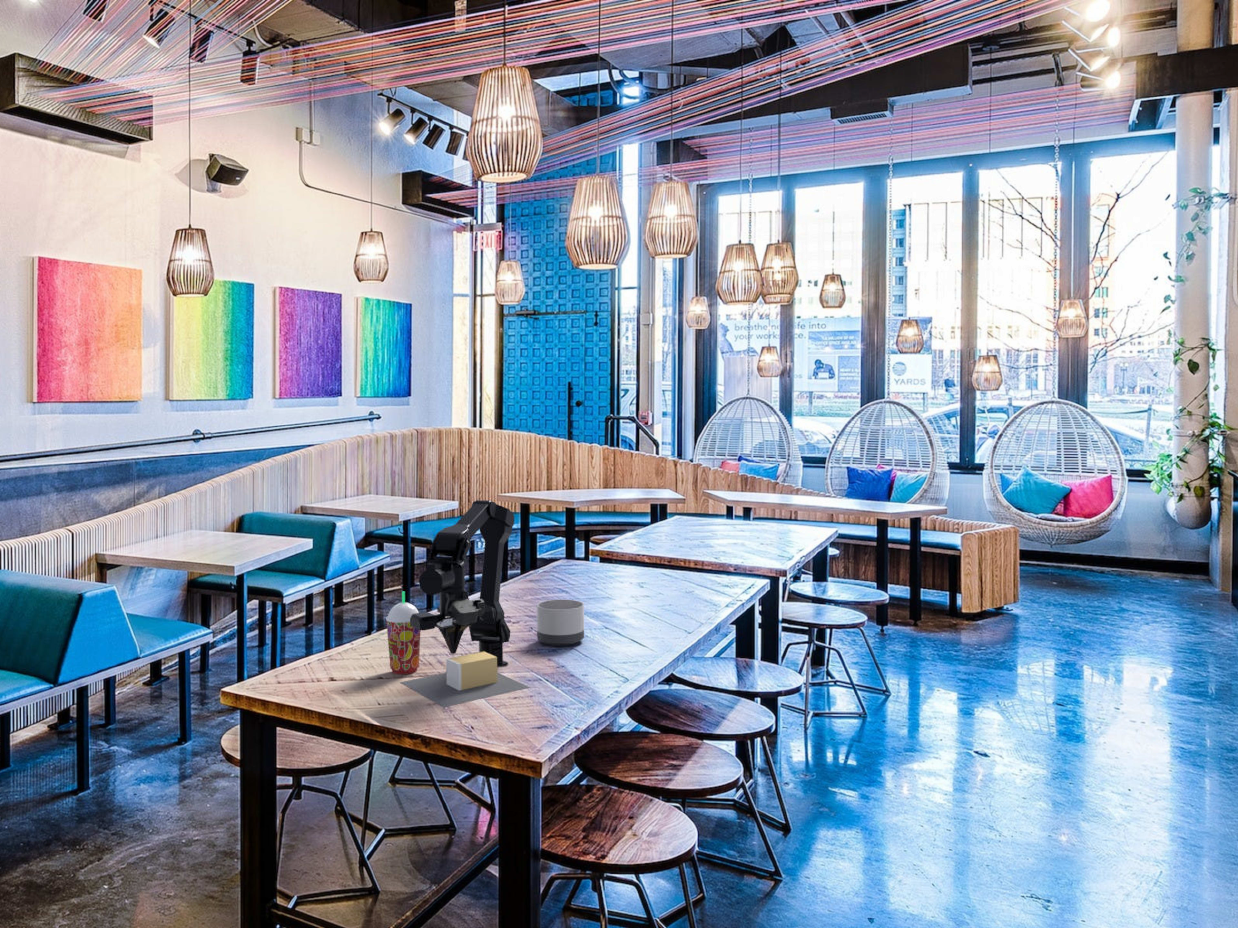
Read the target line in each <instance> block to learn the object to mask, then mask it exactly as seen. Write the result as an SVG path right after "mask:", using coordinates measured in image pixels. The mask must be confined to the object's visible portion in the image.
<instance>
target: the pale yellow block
mask: <svg viewBox="0 0 1238 928" xmlns="http://www.w3.org/2000/svg"><path fill="white" fill-rule="evenodd" d="M445 662H446V664H445V667H446V672H445V673H446V675H447V685H449V686H451V687H453V688H455V689H457V690H464V689H468V688H473V687H478V686H482V685H487V684H491V683H496V682H497V672H498V666H497V657H496V656H493V655H491V654H489V653H486V652H479V651H478V652H475V653H469V654H464V655H459V656H458V655H457V656H453V657H448V658H446V659H445Z"/></svg>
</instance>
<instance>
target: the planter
mask: <svg viewBox="0 0 1238 928" xmlns="http://www.w3.org/2000/svg"><path fill="white" fill-rule="evenodd" d="M536 636H537V637H536V639H537V640H538V641H539V642H541V643H543V644H546V645H548V646H552V647H565V646H571V645H574V644H576V643H580V641H583V639H584V638H585V603H584V602H582V601H579V600H575V599H549V600H548V599H547V600H544V601H543V600H542V601H540V602H538V603H537V604H536Z"/></svg>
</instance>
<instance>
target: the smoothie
mask: <svg viewBox="0 0 1238 928" xmlns="http://www.w3.org/2000/svg"><path fill="white" fill-rule="evenodd" d="M415 613H420V612H419V609H417V607H416V606H415V605H414V604H412V603H411V602H407V601H406V591H401V602H399V603H397V604H395V605H393V606H392V607H391V608H390V610H389V612H388V614H387V616H386V617H385V619H386V631H387V633H386V634H387V642H388V657H389V658H388V659H389V669H390V670H391V672H392V673H393V674H396V675H408V674H409V675H410V674H413V673H416V672H417V670H418V668H419V667H420V653H421V652H420V650H421V632H422V630H418V629H416V628H414V627H412V626H410V618H411V616H412V614H415Z"/></svg>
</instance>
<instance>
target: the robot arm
mask: <svg viewBox="0 0 1238 928" xmlns="http://www.w3.org/2000/svg"><path fill="white" fill-rule="evenodd" d="M514 524H515V514H514V513H513V512H512V511H511V510H510V508H507V507H504V506H502V505H500V504H497V503H496V502H494V501H492V500H484V499H482V500H481V499H477V500H474V501H473V502H472V504H471V507H469V509H468V510H467V511H466V512H465V513H464V514H463V516H461V518H460V519H459V520H458V521H457V522H456V523H455V524H453V525H451V526H447V527H444V528H442V529H441V530H439V531H438V532H437V533H436V535H435V536H434V538H433V541H432V543H431V547H430V550H429V553H428V556H427V561H426V563H427V564H426V569H425V570H424V571H422V573H421V574H420V577H419V579H418V584H419V587H420V589H421V591H422V592H423V593H425V594H426V595H428V596H435V595H439V606H438V607H437V608H436V611H437V612H438V614H433V613H430V612H429V611H422V612H419V613H415V614H412V616H411V618H410V626H412V627H414V628H416V629H418V630H421V631H429V630H434V629H435V628H437V629H438V630H439V631H440V633H441V635H442V637H443V639H444V641H445V643H446V645H447V648H448V651H449V653H450V654H452V655H454V654H456V653H457V650H458V647H459V645H460V642H461V640H462V636H463V634H464V633H465V632H464V631H465V630H466V629H468V630H469V634H470V640H471V642H478V653H479V652H486V653H489V654H491V655H493V656H496V657H497V667H502V666H508V664H509V662H508V661H506V660H504V648H503V644H504V643H509V641H510V638H511V629H510V627H509V626H508V624H507V622H506V621H505V611H504V609H503V606H502V605H501V602H500V594H501V584H502V583H501V581H502V573H503V572H502V571H503V561H504V551H505V550H504V549H505V548H504V547H505V543H506V542H507V541H508V539H509V538H510V536H511V535H512V533H513V527H514ZM478 531H479V533H480V535H481V536H482V540H483V541H484V550H483V560H482V568H481V569H482V572H481V582H480V583H481V584H480V592H479V599H474V600H470V598H469V592H468V590H466V584H465V583H466V577H465V572H466V571H465V569H466V568H465V565H466V564H468V559H467V558H466V557H467V555H468V552H469V551H470V550H471V547H472V544H471V543H472V542H471V540H472V539H473V537H474V536H475V534H476V533H478Z"/></svg>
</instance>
